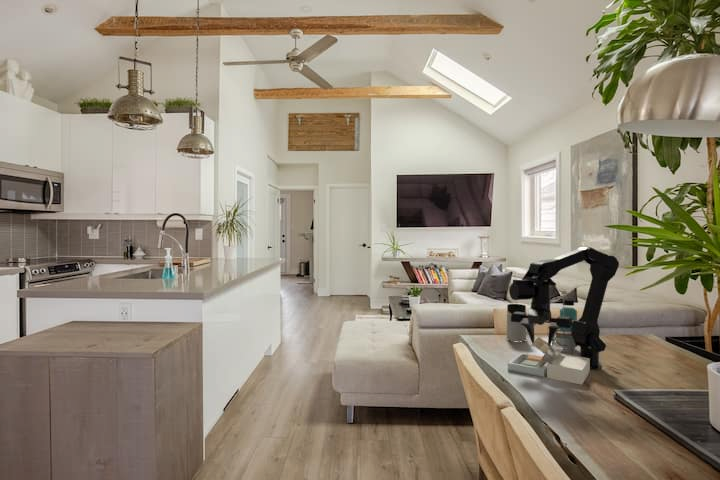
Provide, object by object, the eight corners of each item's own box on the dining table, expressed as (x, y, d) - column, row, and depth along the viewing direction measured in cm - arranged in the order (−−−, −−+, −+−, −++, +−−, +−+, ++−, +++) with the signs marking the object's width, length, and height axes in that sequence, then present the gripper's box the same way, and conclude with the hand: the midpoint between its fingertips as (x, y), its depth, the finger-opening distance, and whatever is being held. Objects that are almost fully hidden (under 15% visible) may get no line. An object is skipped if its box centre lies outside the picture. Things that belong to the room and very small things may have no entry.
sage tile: (539, 362, 142) (539, 369, 142) (525, 359, 145) (525, 366, 145) (535, 365, 138) (535, 373, 138) (521, 363, 141) (521, 370, 141)
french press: (564, 363, 150) (564, 293, 149) (539, 354, 161) (539, 289, 160) (584, 360, 154) (585, 291, 153) (558, 351, 164) (559, 288, 164)
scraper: (559, 353, 146) (538, 339, 150) (563, 348, 145) (542, 333, 149) (550, 364, 135) (528, 348, 139) (554, 358, 134) (532, 342, 138)
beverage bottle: (580, 351, 164) (581, 300, 164) (563, 351, 164) (563, 300, 164) (572, 347, 171) (573, 298, 170) (556, 347, 171) (556, 298, 170)
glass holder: (502, 337, 187) (502, 303, 187) (533, 336, 188) (533, 303, 187) (510, 342, 178) (510, 307, 178) (543, 342, 179) (543, 306, 179)
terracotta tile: (543, 356, 148) (543, 363, 148) (530, 354, 151) (530, 361, 151) (540, 359, 144) (540, 367, 144) (526, 357, 147) (526, 364, 147)
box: (520, 359, 154) (520, 352, 154) (554, 365, 147) (554, 358, 147) (507, 370, 142) (507, 363, 142) (543, 377, 135) (543, 369, 135)
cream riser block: (557, 366, 147) (557, 353, 147) (589, 371, 141) (589, 358, 141) (547, 378, 135) (547, 364, 135) (582, 384, 129) (582, 370, 129)
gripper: (505, 299, 142) (505, 345, 142) (566, 304, 131) (566, 354, 131) (515, 295, 151) (515, 339, 151) (572, 300, 140) (573, 346, 140)
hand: (541, 344), depth 143 cm, fingers closed on scraper, 5 cm apart
